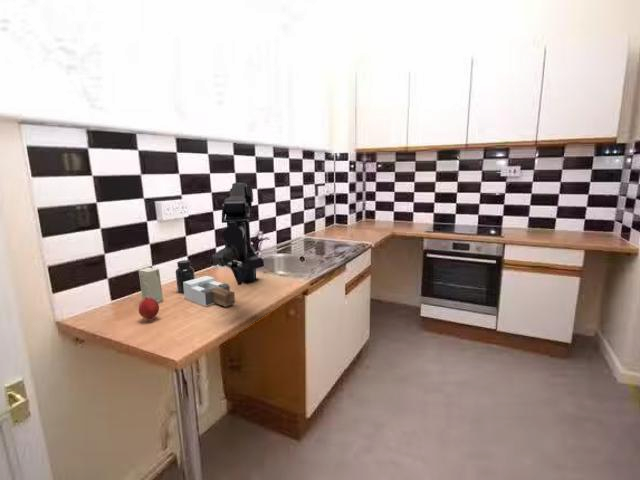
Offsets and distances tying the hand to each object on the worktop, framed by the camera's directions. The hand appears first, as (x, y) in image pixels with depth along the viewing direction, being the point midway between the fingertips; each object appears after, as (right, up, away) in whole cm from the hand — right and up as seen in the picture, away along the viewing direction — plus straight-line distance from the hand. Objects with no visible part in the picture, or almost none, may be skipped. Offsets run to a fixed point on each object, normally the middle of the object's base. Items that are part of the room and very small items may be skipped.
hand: (239, 284), depth 112 cm
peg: (-8, -7, +8) cm, 14 cm away
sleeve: (-16, -7, +14) cm, 22 cm away
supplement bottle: (-27, -6, +23) cm, 35 cm away
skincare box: (-34, -8, +11) cm, 37 cm away
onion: (-28, -11, -4) cm, 30 cm away
